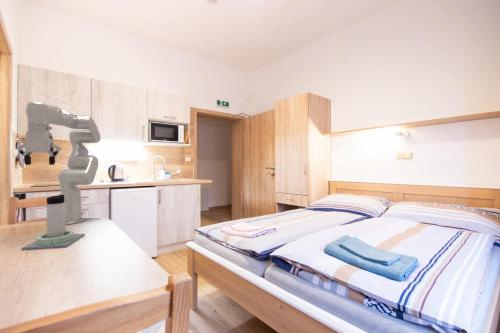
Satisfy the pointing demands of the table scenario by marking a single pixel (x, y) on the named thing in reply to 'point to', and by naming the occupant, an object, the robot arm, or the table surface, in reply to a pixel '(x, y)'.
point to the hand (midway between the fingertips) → (40, 164)
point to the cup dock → (62, 245)
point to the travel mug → (55, 216)
